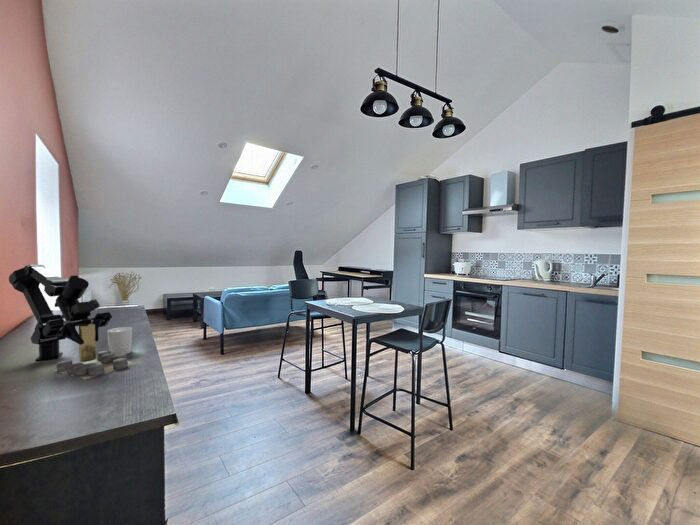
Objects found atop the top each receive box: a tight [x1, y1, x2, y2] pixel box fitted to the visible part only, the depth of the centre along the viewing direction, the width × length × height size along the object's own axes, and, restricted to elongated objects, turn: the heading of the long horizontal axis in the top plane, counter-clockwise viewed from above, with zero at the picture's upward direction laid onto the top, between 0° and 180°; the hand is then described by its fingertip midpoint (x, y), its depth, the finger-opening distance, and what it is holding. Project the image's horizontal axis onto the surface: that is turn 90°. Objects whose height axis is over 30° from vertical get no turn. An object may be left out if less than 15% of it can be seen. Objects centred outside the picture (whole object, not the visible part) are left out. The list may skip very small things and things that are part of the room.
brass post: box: [78, 324, 97, 363], centre depth 113 cm, size 4×4×12 cm
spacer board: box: [52, 350, 138, 380], centre depth 111 cm, size 19×16×3 cm
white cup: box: [107, 326, 133, 355], centre depth 127 cm, size 8×8×10 cm
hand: (89, 342), depth 112 cm, fingers closed on brass post, 4 cm apart
